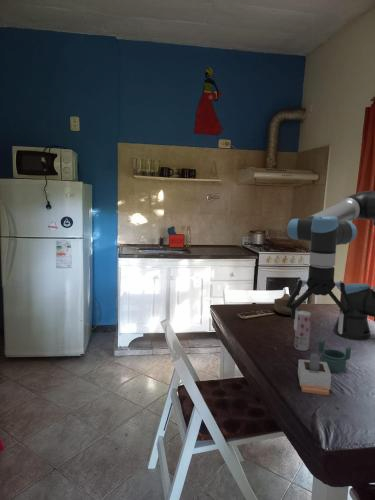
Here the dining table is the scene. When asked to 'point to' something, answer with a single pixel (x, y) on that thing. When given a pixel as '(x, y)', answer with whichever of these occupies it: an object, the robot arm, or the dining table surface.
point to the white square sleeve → (314, 375)
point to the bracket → (334, 357)
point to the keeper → (314, 367)
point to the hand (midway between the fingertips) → (317, 330)
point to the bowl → (283, 305)
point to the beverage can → (302, 331)
